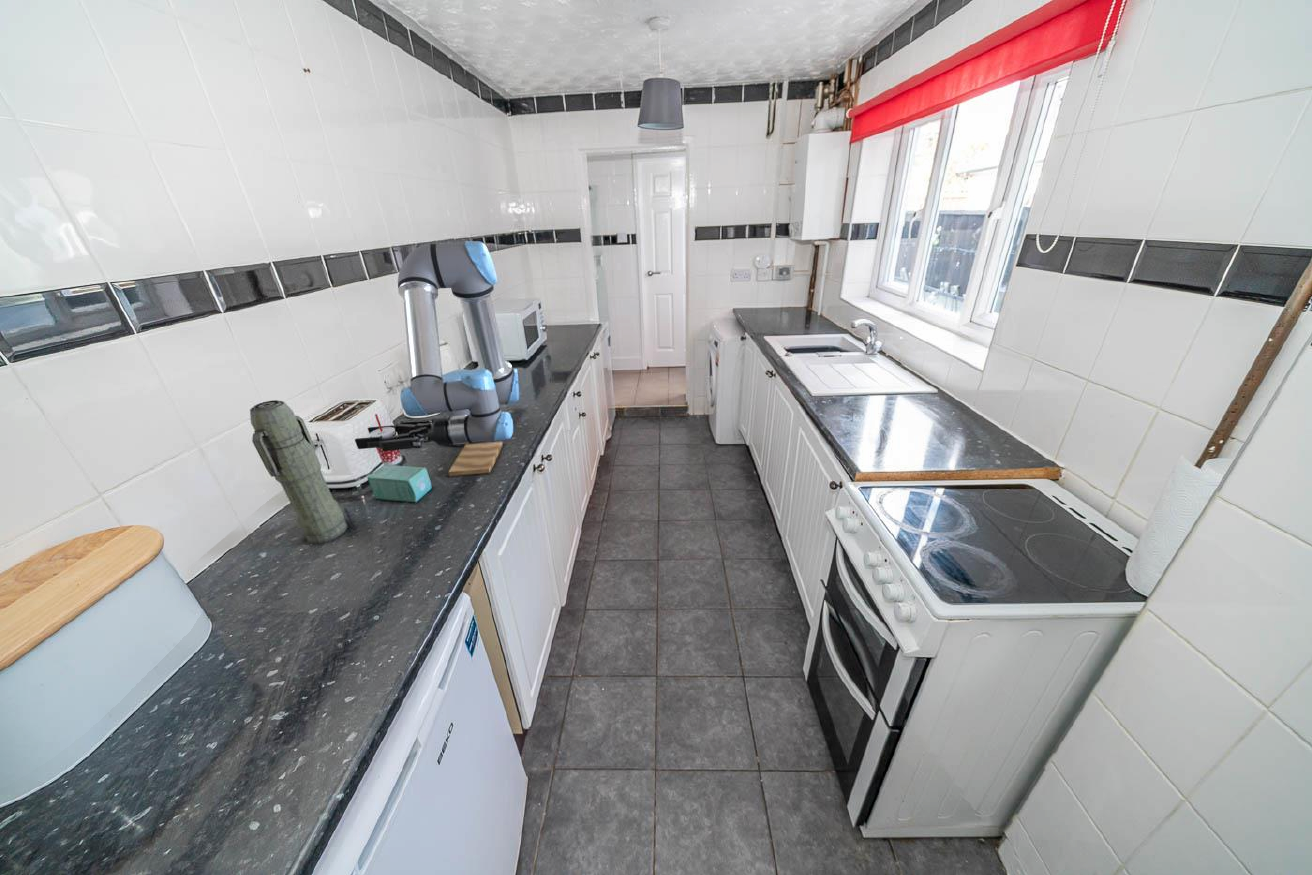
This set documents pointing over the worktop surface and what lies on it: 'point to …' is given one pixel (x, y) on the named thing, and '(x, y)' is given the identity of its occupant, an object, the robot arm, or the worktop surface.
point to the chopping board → (476, 459)
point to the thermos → (296, 469)
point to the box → (400, 483)
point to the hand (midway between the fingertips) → (363, 438)
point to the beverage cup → (386, 456)
